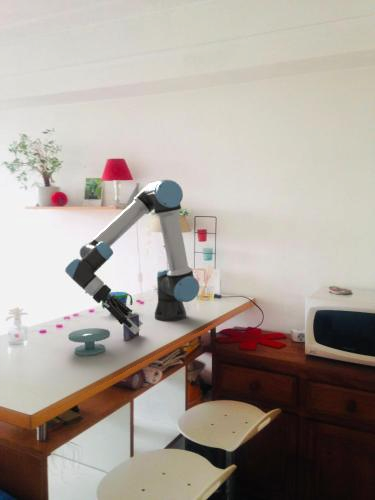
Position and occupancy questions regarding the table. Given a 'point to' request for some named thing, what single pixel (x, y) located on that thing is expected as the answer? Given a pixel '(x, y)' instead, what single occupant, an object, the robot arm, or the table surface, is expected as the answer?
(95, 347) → the cake stand
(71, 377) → the table surface
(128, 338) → the flask
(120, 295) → the snack cup
